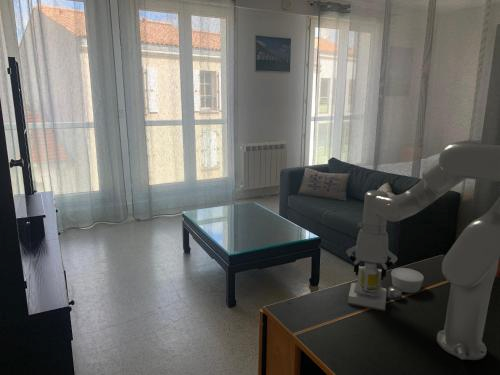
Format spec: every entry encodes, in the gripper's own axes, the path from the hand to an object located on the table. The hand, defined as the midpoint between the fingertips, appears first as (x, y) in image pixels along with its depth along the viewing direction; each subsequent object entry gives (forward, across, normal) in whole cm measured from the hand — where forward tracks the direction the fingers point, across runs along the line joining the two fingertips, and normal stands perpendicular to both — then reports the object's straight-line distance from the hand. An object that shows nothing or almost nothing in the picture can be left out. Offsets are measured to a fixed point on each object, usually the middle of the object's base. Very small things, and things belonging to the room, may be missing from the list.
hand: (369, 275), depth 129 cm
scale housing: (+10, 0, +1) cm, 10 cm away
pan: (+7, 0, 0) cm, 7 cm away
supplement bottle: (+5, 0, 0) cm, 5 cm away
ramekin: (+10, +13, +16) cm, 23 cm away
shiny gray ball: (+10, +9, +7) cm, 15 cm away
